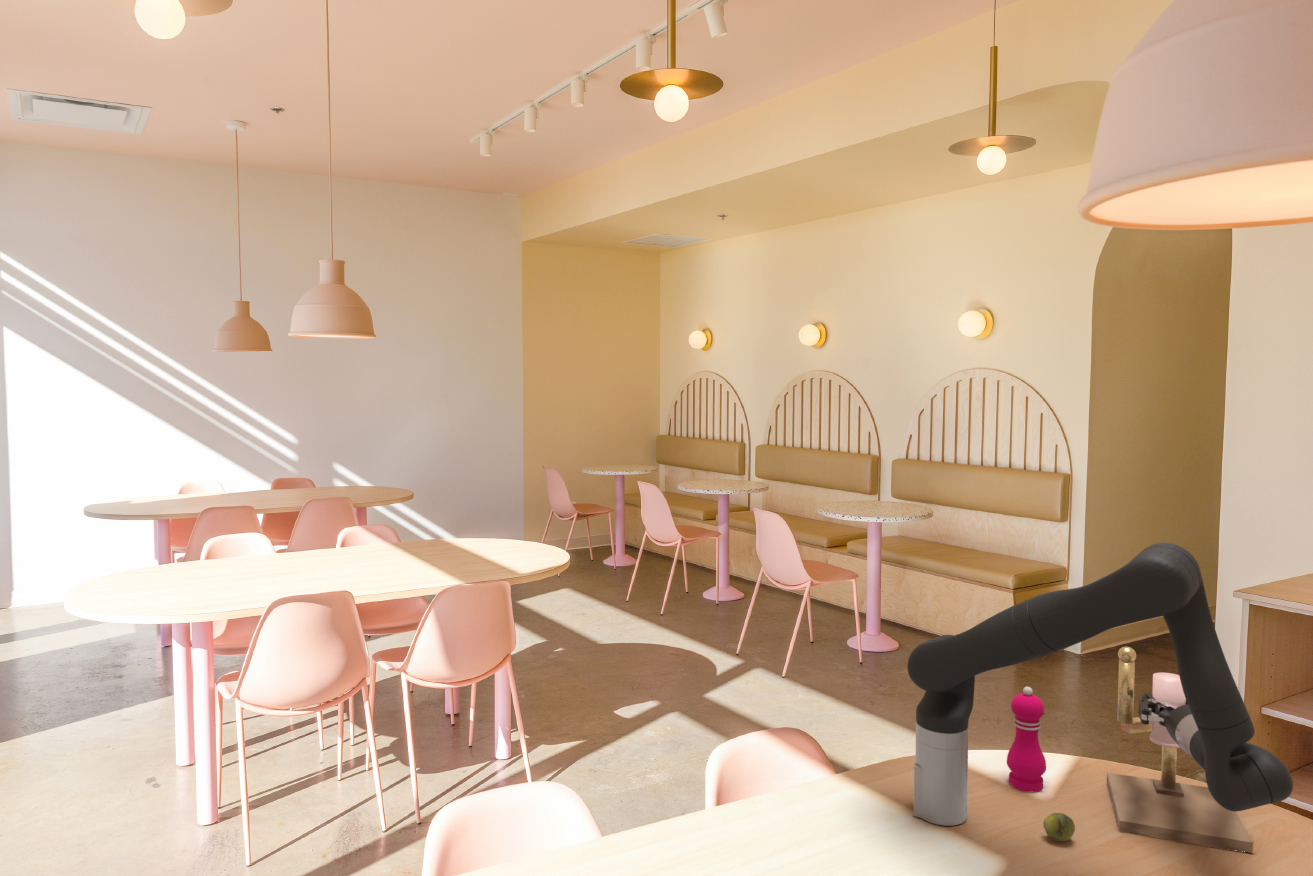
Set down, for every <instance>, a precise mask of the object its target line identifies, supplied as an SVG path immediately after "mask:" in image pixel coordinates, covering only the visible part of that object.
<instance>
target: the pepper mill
mask: <svg viewBox="0 0 1313 876" xmlns="http://www.w3.org/2000/svg"><path fill="white" fill-rule="evenodd" d="M1033 693H1034V692H1033V688H1032V687H1030V686H1025V687H1024V688H1023V689H1022V693H1018V694H1016V695H1015V696H1013V698H1012V700H1011V702H1010V703H1011V704H1010V708H1011V712H1012V713H1013V714H1014V716H1013V721H1012V722H1013V725H1014V726H1015V736H1014V740H1013V742H1012V745H1011V746H1010V748H1009V750H1008V752H1007V756H1006V757H1007V758H1006V765H1007V767H1008V769H1009V774H1008V783H1009V785H1010V786H1011V787H1012V788H1014V789H1016V790H1018V791H1022V792H1026V793H1038V792H1041V791H1042V790H1043V788H1044V777H1043V775H1044V774H1046V773H1045V772H1046V771H1047V761H1046V758H1045V755H1044V752H1043V751H1042V749H1041V746H1040V742H1039V729H1041V728H1042V725H1041V723H1042V720H1041V718H1043V716H1044V714H1045V706H1044V703H1043V701H1042V700H1041V698H1040V697H1038V696H1037V695H1034V694H1033Z"/></svg>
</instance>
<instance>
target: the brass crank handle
mask: <svg viewBox="0 0 1313 876" xmlns="http://www.w3.org/2000/svg"><path fill="white" fill-rule="evenodd" d="M1117 656H1118V685H1117V686H1118V687H1117V719H1116V721H1117V722H1119V723H1121V724H1120V730H1121V731H1123V732H1125V733H1127V734H1130V735H1131V734H1137V733H1146V732H1152V721H1151V722H1149V724H1146V725H1145V724H1142V723H1141V720H1140V717H1138V716H1136V717H1134V708H1135V707H1134V705H1135V703H1134V702H1135V701H1134V700H1135V674H1136V673H1135V672H1136V670H1135V668H1136V667H1135V665H1136V662H1135V660H1136V659H1137V653H1136V651H1135V649H1133V648H1132V647H1130V646H1122V647H1121V648H1119V650H1118V651H1117ZM1177 750H1178V748H1169V747H1164V746H1161V768H1160V771H1161V772H1160V780H1161V782H1162V783H1164V784H1166V785H1176V783H1177V757H1178V756H1177V753H1178V751H1177Z"/></svg>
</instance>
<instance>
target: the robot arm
mask: <svg viewBox="0 0 1313 876" xmlns="http://www.w3.org/2000/svg"><path fill="white" fill-rule="evenodd" d="M1201 571H1202V570H1201V568H1200V564H1199V563H1198V561H1197V559H1196V558H1195V557H1194V556H1193V554H1192V553H1191V552H1190V551H1189V550H1187V549H1185V548H1184V547H1183V546H1180V545H1178V544H1174V543H1170V542H1158V543H1157V542H1156V543H1153V544H1151V545H1149V546H1147V547H1146V548H1144V549H1142V550H1141V551H1140V552H1139V553H1138V554H1137V555H1135V556H1134V558H1132V559H1131V560H1130V561H1129V562H1127V563H1126V564H1125V565H1123V566H1122V567H1120V568H1119V569H1117V570H1115V571H1113V572H1112V573H1109V574H1108V575H1105V576H1103V577H1101V578H1099V579H1097V580H1095V581H1093V582H1091V583H1088V584H1086V585H1083V586H1078V587H1074V588H1066V589H1059V590H1053V591H1048V592H1046V593H1041V594H1038V595H1035V596H1033V597H1030V598H1028V599H1025V600H1023V601H1021V602H1019V603H1015V604H1014V605H1012V606H1010V607H1008V608H1006V609H1004V610H1002V611H1000V612H999V611H998V613H996V614H994V615H992V616H990V617H988V618H987V619H985V620H983V621H981V622H980V623H978V624H976V625H974V626H973V627H970V628H969V629H967V630H965V631H962V632H960V633H957V634H955V635H953V634H941V635H939V636H936V637H933V638H931V639H929V640H926V641H924V642H921V643H920V644H918V645H917V646H916V647H915V648H914V649H913V650H912V651H911V652H910V654H909V657H908V661H907V667H906V668H907V673H908V676H909V678H910V680H911V681H912V682H913V683H914V684H915V686H917V687H918V688H920V689H921V690H923V691H925V692H924V694H923V696H922V698H921V700H920V701H919V702H918V704H917V706H916V709H915V759H914V760H915V762H914V766H913V813H912V814H913V816H914V817H915V818H916V817H917V818H920V819H922V820H924V821H926V822H929V823H931V824H934V825H938V826H947V827H948V826H952V827H953V826H959V825H961V824H963V823H965V822H966V820H967V818H968V776H969V775H968V773H969V772H968V769H969V765H968V764H969V762H968V761H969V721H970V720H969V719H970V716H971V714H972V711H973V707H974V700H975V681H976V680H975V679H976V676H977V675H980V674H982V673H985V672H989V671H993V670H997V669H1001V668H1006V667H1010V666H1014V665H1018V664H1023V663H1025V662H1029V661H1032V660H1035V659H1039V658H1043V657H1046V656H1049V655H1050V654H1051V655H1052V654H1054V653H1057V652H1059V651H1062V650H1066V649H1068V648H1070V647H1072V646H1075V645H1078V644H1080V643H1081V642H1084V641H1086V640H1090V639H1091V638H1094V637H1096V636H1098V635H1100V634H1101V633H1104V632H1106V631H1108V630H1111V629H1114V628H1118V627H1120V626H1121V627H1122V626H1124V625H1128V624H1132V623H1138V622H1141V621H1146V620H1150V619H1151V620H1152V619H1155V618H1160V617H1163V619H1164V621H1165V623H1166V626H1167V629H1168V632H1169V635H1170V639H1171V641H1172V645H1173V649H1174V653H1175V659H1176V660H1175V661H1176V665H1177V672H1178V675H1179V676H1180V681H1181V685H1182V689H1183V692H1184V695H1185V698H1186V705H1182V706H1179V707H1177V706H1172V705H1170V704H1168V703H1166V702H1164V701H1163V702H1159V701H1156V699H1155V698H1153V696H1152V695H1153V694H1150V692H1145V693H1144V694H1143V695H1142V698H1141V699H1138V712H1137V713H1138V716H1139V717H1140V720H1141V723H1142V724H1145V725H1146V724H1149V722H1151V721H1157V722H1159V724H1160V725H1162V726H1164V727H1166V728H1167V730H1168V733H1169V734H1170V736H1171V737H1172V739H1173V740H1174V741H1175V742H1176V743H1177V744H1178V745H1179V746H1180V747H1181V748H1180V749H1182V750H1183V752H1185V754H1186V755H1187V756H1189V757H1190V758H1191V759H1192V760H1194V761H1195V762H1196V764H1198V765H1199V766H1200V767H1201V768H1202V770H1204V774H1205V775H1204V776H1205V781H1206V782H1205V783H1206V785H1207V786H1206V787H1208V789H1209V791H1210V793H1211V795H1212V797H1213V798H1214V799H1215V801H1216V802H1217V803H1218V804H1220V805H1221V806H1222V807H1224V808H1225V809H1227V810H1230V811H1236V812H1242V811H1247V810H1250V809H1254V808H1257V807H1263V806H1265V805H1270V804H1274V803H1279V802H1282V801H1284V800H1287V799H1288V798H1289V797H1290V796H1291V795H1292V792H1293V790H1294V781H1293V777H1292V775H1291V772H1290V771H1289V769H1288V768H1287V766H1286V765H1285V764H1284V763H1283V761H1281V759H1279V758H1278V757H1277V756H1276V755H1275V754H1273V753H1272V752H1270V751H1269V750H1267V749H1266V748H1263V747H1261V746H1259V745H1256V744H1253V743H1250V742H1249V741H1251V740H1252V739H1253V738H1254V736H1255V732H1256V731H1255V727H1254V723H1253V721H1252V718H1251V716H1250V714H1249V711H1248V709H1247V707H1246V704H1245V702H1244V700H1243V698H1242V695H1241V692H1240V691H1239V689H1238V686H1237V683H1236V681H1235V678H1234V677H1233V675H1232V672H1231V671H1232V670H1231V669H1230V666H1229V664H1228V662H1227V659H1226V657H1225V654H1224V651H1223V648H1222V645H1221V643H1220V640H1219V636H1218V634H1217V631H1216V627H1215V624H1214V621H1213V617H1212V615H1211V610H1210V607H1209V604H1208V603H1209V602H1208V597H1207V593H1206V590H1205V585H1204V584H1205V583H1204V580H1203V576H1202V572H1201Z"/></svg>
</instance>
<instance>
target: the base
mask: <svg viewBox="0 0 1313 876" xmlns="http://www.w3.org/2000/svg"><path fill="white" fill-rule="evenodd" d="M1106 785H1107V789H1108V793H1109V797H1110V800H1111V801H1110V802H1111V804H1112V808H1113V812H1114V813H1113V814H1114V816H1115V819H1116V824H1117V825H1116V826H1117V827H1118V831H1119V832H1120V833H1126V834H1130V835H1131V834H1132V835H1138V836H1144V837H1148V838H1149V837H1151V838H1156V839H1161V840H1166V841H1167V840H1168V841H1173V842H1180V843H1184V844H1185V843H1186V844H1191V845H1198V846H1204V847H1209V848H1216V849H1220V850H1226V851H1232V850H1237V851H1243V852H1244V851H1245V852H1249V853H1253V854H1254V851H1253V850H1254V841H1253V840H1252V838H1251V836H1250V834H1249V833H1248V830H1247V829H1246V827H1245V825H1244V823H1243V821H1242V820H1241V817H1240V816H1239V813H1238V811H1230V810H1227V809H1225V808H1224V807H1222V806H1221V805H1220V804H1218V803H1217V802H1216V801H1215V799H1214V798H1213V797H1212V795H1211V793H1210V791H1209V789H1208V786H1201V785H1193V784H1187V783H1181V782H1176V785H1166V784H1164V783H1162V782H1161V779H1153V778H1146V777H1141V776H1134V775H1127V774H1119V773H1112V772H1106ZM1221 848H1222V849H1221ZM1227 849H1229V850H1227ZM1237 851H1236V852H1237ZM1243 852H1242V853H1243ZM1249 853H1248V854H1249Z"/></svg>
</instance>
